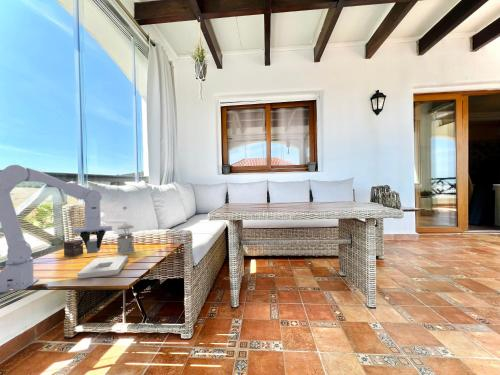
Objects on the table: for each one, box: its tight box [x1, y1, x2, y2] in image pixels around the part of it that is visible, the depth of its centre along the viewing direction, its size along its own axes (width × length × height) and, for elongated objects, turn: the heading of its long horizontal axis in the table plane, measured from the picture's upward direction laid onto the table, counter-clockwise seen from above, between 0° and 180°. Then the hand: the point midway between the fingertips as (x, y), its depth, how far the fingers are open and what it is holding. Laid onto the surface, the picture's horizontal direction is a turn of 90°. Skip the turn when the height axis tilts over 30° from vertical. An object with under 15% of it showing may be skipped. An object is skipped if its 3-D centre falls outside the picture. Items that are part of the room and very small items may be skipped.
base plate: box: [77, 255, 129, 280], centre depth 103 cm, size 20×14×2 cm
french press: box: [115, 206, 136, 256], centre depth 129 cm, size 10×12×25 cm
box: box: [63, 239, 84, 257], centre depth 125 cm, size 6×6×7 cm
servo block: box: [86, 238, 101, 255], centre depth 103 cm, size 5×4×5 cm
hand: (93, 248), depth 102 cm, fingers closed on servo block, 3 cm apart
